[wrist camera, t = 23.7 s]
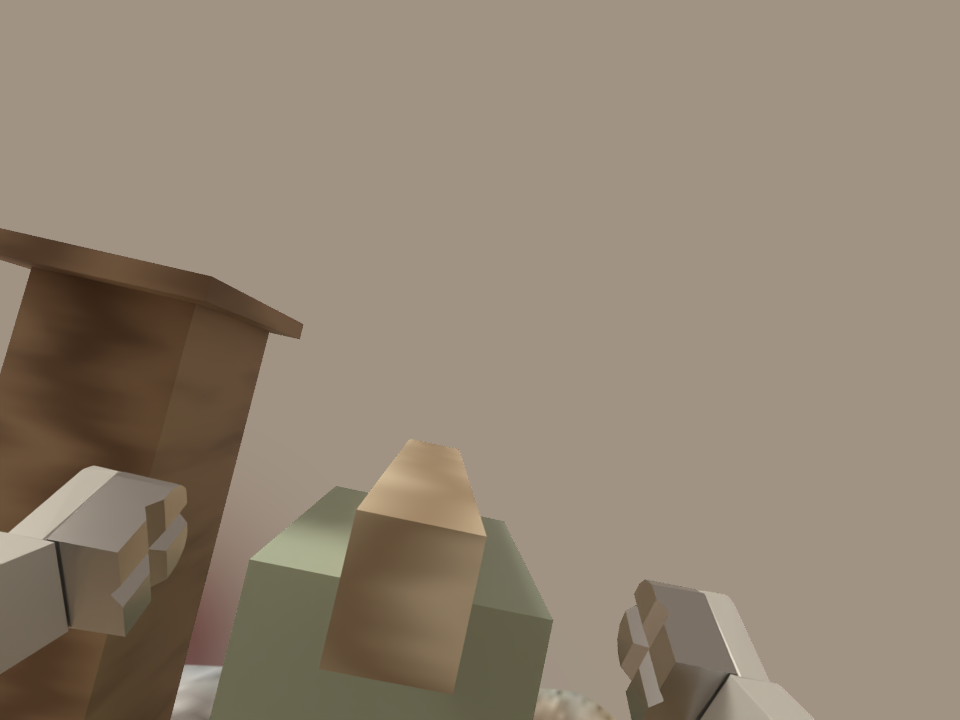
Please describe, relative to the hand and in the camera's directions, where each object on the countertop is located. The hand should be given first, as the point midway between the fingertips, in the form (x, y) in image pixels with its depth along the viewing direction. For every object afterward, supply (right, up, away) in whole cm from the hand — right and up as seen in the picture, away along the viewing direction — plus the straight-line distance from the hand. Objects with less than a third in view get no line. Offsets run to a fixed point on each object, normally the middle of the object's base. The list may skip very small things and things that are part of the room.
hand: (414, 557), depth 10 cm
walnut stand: (-20, -18, +16) cm, 32 cm away
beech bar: (-2, -4, +12) cm, 13 cm away
